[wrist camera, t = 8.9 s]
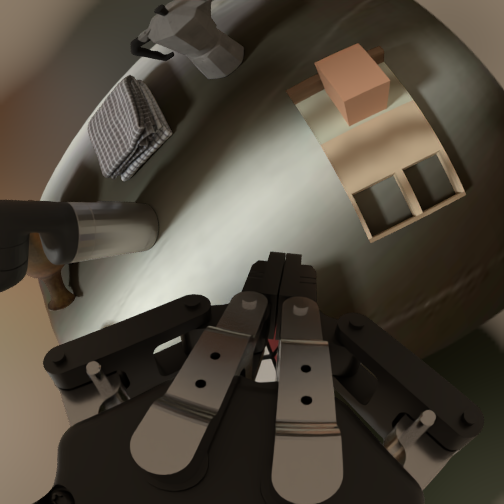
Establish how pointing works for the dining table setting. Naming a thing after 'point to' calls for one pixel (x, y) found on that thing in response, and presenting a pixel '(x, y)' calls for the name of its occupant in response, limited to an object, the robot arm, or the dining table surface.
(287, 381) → the robot arm
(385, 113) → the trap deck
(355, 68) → the block
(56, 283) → the jug
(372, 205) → the dining table surface
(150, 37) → the coffeepot
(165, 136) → the towel
